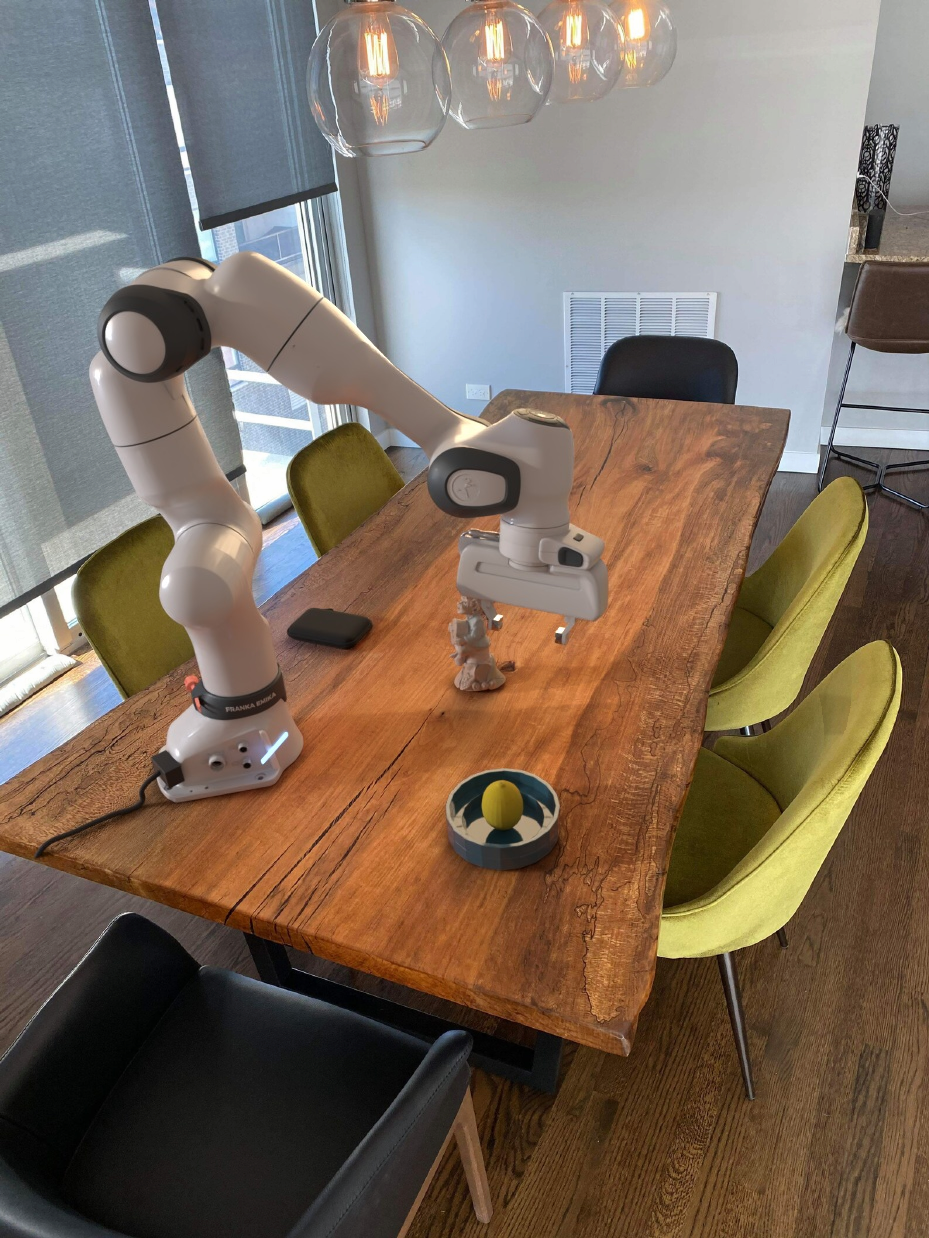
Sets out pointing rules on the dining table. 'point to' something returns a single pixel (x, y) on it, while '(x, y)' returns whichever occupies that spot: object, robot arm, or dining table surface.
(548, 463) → the robot arm
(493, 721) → the dining table surface
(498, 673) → the figurine
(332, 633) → the carrying case
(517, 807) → the lemon
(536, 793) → the bowl
